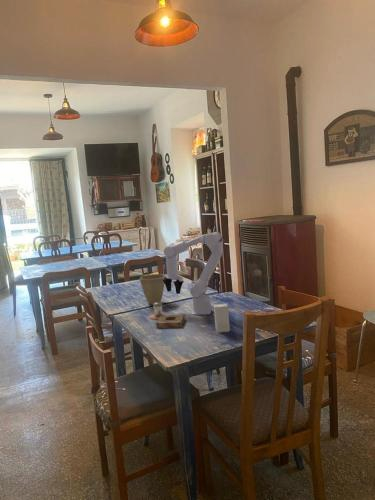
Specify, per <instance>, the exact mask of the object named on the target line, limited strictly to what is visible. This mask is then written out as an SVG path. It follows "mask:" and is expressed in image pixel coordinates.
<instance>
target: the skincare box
mask: <svg viewBox="0 0 375 500" xmlns="http://www.w3.org/2000/svg"><path fill="white" fill-rule="evenodd" d="M213 312H214V313H213V315H214V326H215V331H216V333H217V334H219V333H227V332H231V330H230V329H231V328H230V327H231V326H230V316H229V306H228V304H227V303H221V304H213Z"/></svg>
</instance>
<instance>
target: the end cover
mask: <svg viewBox="0 0 375 500" xmlns="http://www.w3.org/2000/svg"><path fill="white" fill-rule="evenodd" d="M152 306H153V314H154V317H160V316H161V315H163V313H164V312H163V302H162V301H161V302H154V303H153V304H152Z"/></svg>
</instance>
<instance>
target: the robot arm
mask: <svg viewBox="0 0 375 500" xmlns="http://www.w3.org/2000/svg"><path fill="white" fill-rule="evenodd" d="M198 244H203V245H206V246H207V247H208V248H209V250H210V251H211V252H210V253H211V254H210V256H209V258H208V260H207V262H206V264H205V266H204V268H203V270H202V272H201V274H200V275H199V278H198V279H197V280H196V282H195V284H194V285H193V286H191V288H190V290H189V292H190V295H191V296H192V308H193V311H192V313H191V315H192V316H194V315H198V316H199V315H200V316H201V315H211V312H212V301H211V300H212V299H211V296H210V295H207V293H206V292H208V285H209V281H210V279H211V277H212V275H213V273H214V272H215V269H216V267H217V265H218V264H219V261H220V260H221V257H222V256H223V253H224V245H223V244H224V239H223V236H222V234H221V233H220V232H218V231H214V232H210V233H205V234H202V235H199V236H197V237H194V238H192V239H190V240H188V241H187V240H185V239H180V240H179V241H177V243H176V242H175V243H171V245H169V246H166V247H165V248H164V249H163V254H164V256H165V260H166V261H165V262H166V273H165V274H162V275H163V278H165V279H163V282H164V287H165V288H166V290H167V292H168V293H169V292H172V282H173V284H174V288H175V294H176V295H179V294H181V290H182V287H183V284H184V277H183V276H180V275H179V274H178V273H179V272H178V257H177V256H178V255H180V254H183V253H185V252H186V251H189V248H190V247H193V246H195V245H198Z"/></svg>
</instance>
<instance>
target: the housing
mask: <svg viewBox="0 0 375 500" xmlns="http://www.w3.org/2000/svg"><path fill="white" fill-rule="evenodd" d="M185 316H186V315H185V314H184V313H183V314H182V313H181V314H166V315H161V316H160V318H159V319H157V321H156V322H155V326H156V329H160V328H161V329H162V328H163V329H164V328H167V329H168V328H171V329H172V328H182V326H183V324H184V321H185V320H186V319H185V318H186V317H185Z"/></svg>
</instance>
